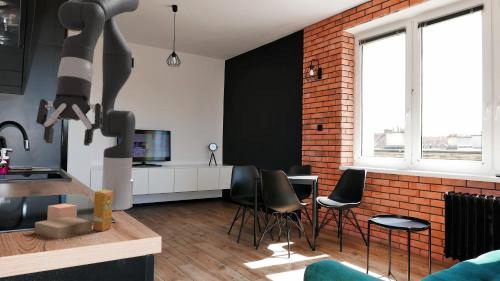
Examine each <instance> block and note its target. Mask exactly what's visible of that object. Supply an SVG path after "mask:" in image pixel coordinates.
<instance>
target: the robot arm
mask: <svg viewBox="0 0 500 281" xmlns="http://www.w3.org/2000/svg"><path fill="white" fill-rule="evenodd" d="M139 6H140V0H66V1H65V2H62V4H61V5H60V6H59V8H58V12H57V13H58V14H57V17H58V20H59V22H60V24H61V25H62V26H63V27H64V28H65V29H67V30H68V31H72V32H73V31H74V32H79V33H77V34H74V35H70V36H67V37H65V38H64V40H63V44H62V50H61V60H60V62H59V63H60V64H59V67H58V72H57V82H56V90H55V99H54V101H53V100H46V99H44V98H41V99H40V100H39V106H38V110H37V116H36V120H35V121H36V123H37V124H39V125H41V126H43V127H44V131H43V132H44V133H43V140H44V141H45V143H46V144H48V145H49V144H50V145H52V144H53V139H54V131H55V129H54V127H55V126H56V125H57V124H58V123H60V122H61V121H62V120H65V121H69V120H70V121H71V120H72V121H75V122H76V121H78V122H79V121H81V123H82V124H83V125H84V126H85V128H86V129H85V131H84V138H83V139H84V140H83V145H84V146H87V147H88V146H89V147H90V145H91V144H92V143H93V141H94V140H93V138H94V132H95V130H98V129H99V130H100V131H99V132H100V134H101V135H102V136H103V137H106V138H120V141H119V142H118V143H117V144H115V145H113V146H110V147H106V148H105V149H104V150H103V157H102V178H101V181H102V182H101V190H103V189H105V190H110V191H113V201H112V211H124V210H128V209H130V208H133V192H134V180H133V178H132V174H133V173H132V171H133V169H132V168H133V153H134V143H135V142H134V140H135V132H136V116H135V113H134V112H133V111H130V110H115V104H116V99H117V96H118V95H119V92H121V89H123V88H124V87H123V86H125V84H126V83H127V81H128V80H129V78H130V77H131V74H132V67H133V64H132V63H133V56H132V55H133V53H132V50H131V47H130V46H129V44H128V42H127V40H126V38H125V37H124V36H123V34H122V33H121V29H120V28H119V26H118V23H117V22H118V21H117V18H116V16H118V15H121V14H124V13H132V12H135V11H136V10H137V9H138V8H139ZM101 34H103V36H102V37H103V38H102V40H103V41H102V56H101V57H102V69H101V70H102V90H101V92H102V93H101V103H99V102H96V103H95V104H91V101H90V100H91V94H92V93H91V92H92V81H93V73H94V71H93V64H94V56H95V49H96V46H97V44H98V41H99V39H100V37H101ZM52 107H53V108H54V110H55V111H53V113H52V114H50V117H49V118H48V114H49V110H51V109H52ZM91 110H92V112H93V113H94V123H92V122H91V120H90V119H89V117H88V116H87V114H88V113H89V111H91Z"/></svg>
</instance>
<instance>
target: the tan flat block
mask: <svg viewBox="0 0 500 281" xmlns="http://www.w3.org/2000/svg"><path fill="white" fill-rule="evenodd" d="M92 231H93V220H89V219H83V218H79V217H77V218H74V217H70V216H68V217H63V218H57V219H52V220H47V219H46V220H40V221H36V222H35V221H34V234H36V235H40V236H42V237H43V236H44V237H48V238H52V239H55V240H60V239H65V238H69V237H73V236H77V235H83V234H86V233H90V232H91V233H92Z"/></svg>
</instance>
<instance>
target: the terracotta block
mask: <svg viewBox="0 0 500 281" xmlns="http://www.w3.org/2000/svg"><path fill="white" fill-rule="evenodd" d="M68 216H70V217H74V218H78V205H76V204H70V203H59V204H53V205H47V217H46V218H47V219H46V220H52V219H57V218H63V217H68Z"/></svg>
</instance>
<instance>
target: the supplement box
mask: <svg viewBox="0 0 500 281" xmlns="http://www.w3.org/2000/svg"><path fill="white" fill-rule="evenodd" d="M93 200H94V201H93V202H94V203H93V220H92V230H96V231H99V232H105V231H106V230H108V229H111V227H112V216H113V210H112V201H113V191H110V190H105V189H103V190H102V189H101V190H97V191H95V192H94V199H93Z"/></svg>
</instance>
